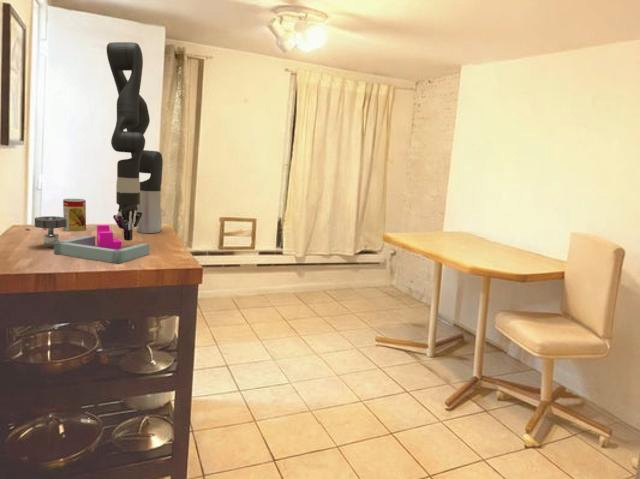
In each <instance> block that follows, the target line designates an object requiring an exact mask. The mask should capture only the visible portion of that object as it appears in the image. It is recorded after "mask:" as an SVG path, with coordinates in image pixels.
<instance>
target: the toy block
mask: <svg viewBox="0 0 640 479" xmlns="http://www.w3.org/2000/svg"><path fill="white" fill-rule="evenodd" d="M96 237H97V238H96V240H97V241H96V243H97V244H96V247H101V248H108V249H115V250H119V249H122V240H121V239H120V238H114V232H113V231H111V230H110V225H109V224H97V225H96Z"/></svg>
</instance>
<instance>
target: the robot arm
mask: <svg viewBox="0 0 640 479" xmlns="http://www.w3.org/2000/svg"><path fill="white" fill-rule="evenodd" d="M106 56H107V60H108V64H109V68H110V71H111V75H112V77H113V80H114V84H115V87H116V89H117V94H118V97H117V100H116V122H115V127H114V130H113V133H112V136H111V139H110V142H111V143H110V144H111V147H112V149H113V150H114V151H115V152H118V153H126V154H127V153H128V154H129V153H130V154H131V155H130V156H131V157H130V158H125V159H119V160H118V161H117V164H116V167H117V168H116V170H117V171H116V173H117V174H116V175H117V176H116V188H115V189H116V190H115V191H116V196H115V197H116V202H115V203H116V204H117V205H118V209H117V214H113V216H112V218H113V219H114V222H115V223H116V225H117V226H118V228H119V229H122V230H123V240H124V241H128V242H129V241H132V240H133V230H134V228H136V232H137V233H143V234H156V233H160V232H161V231H162V208H161V207H162V206H161V202H162V201H161V200H162V199H161V197H162V196H161V195H162V194H161V193H162V192H161V189H162V183H163V182H162V178H163V168H164V167H163V165H164V164H163V163H164V161H163V156H162V153H161V152H160V151H157V150H147V149H146V150H145V147H146V138H145V133H146V132H147V130H148V127H149V125H150V113H149V108H148V105H147V103H146V101H145V99H144V98H143V97H142V95H141V94H140V89H141V85H142V84H141V83H142V77H143V76H142V74H143V67H144V66H143V65H144V61H143V60H144V58H143V53H142V49H141V47H140V45H139V43H137V42H134V41H133V42H132V41H130V42H129V41H126V42H117V41H115V42H108V44H107V45H106ZM125 71H130V72H131V73H130V75H129V79H127V77H126V75H125ZM140 173H141V174H149V175H150V176H149V178H148V179H146V180H143V181H140Z"/></svg>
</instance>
